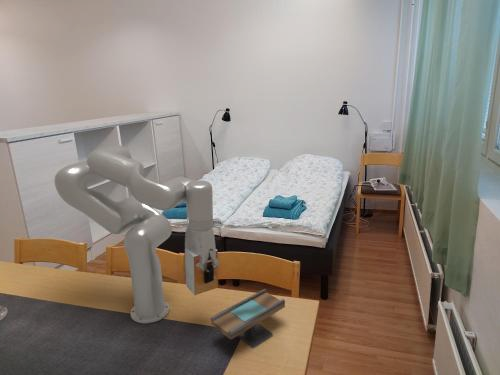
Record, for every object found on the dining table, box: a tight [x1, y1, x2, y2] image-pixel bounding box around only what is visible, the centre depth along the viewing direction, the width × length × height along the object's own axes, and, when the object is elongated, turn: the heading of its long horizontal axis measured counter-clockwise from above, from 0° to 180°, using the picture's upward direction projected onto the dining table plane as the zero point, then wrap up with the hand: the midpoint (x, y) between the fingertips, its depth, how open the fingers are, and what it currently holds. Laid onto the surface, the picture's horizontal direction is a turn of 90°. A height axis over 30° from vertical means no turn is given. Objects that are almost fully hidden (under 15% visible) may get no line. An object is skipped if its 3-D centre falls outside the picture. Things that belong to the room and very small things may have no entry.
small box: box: [184, 248, 219, 296], centre depth 111 cm, size 8×6×13 cm
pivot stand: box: [236, 322, 274, 349], centre depth 111 cm, size 12×8×6 cm, turn 42°
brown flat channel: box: [210, 288, 286, 340], centre depth 110 cm, size 9×22×2 cm, turn 132°
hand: (201, 276), depth 112 cm, fingers closed on small box, 6 cm apart
